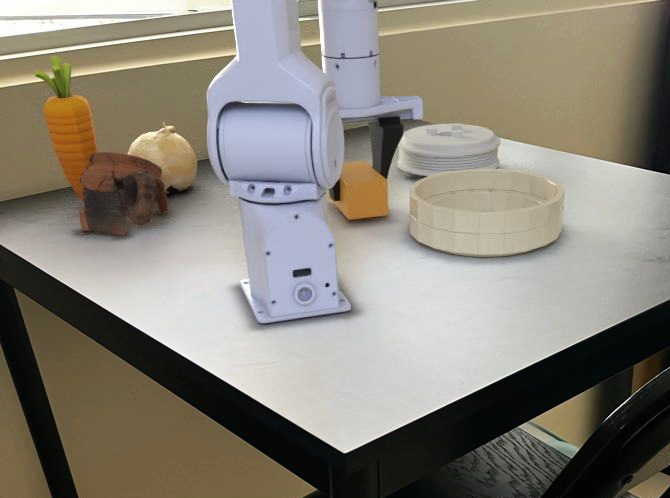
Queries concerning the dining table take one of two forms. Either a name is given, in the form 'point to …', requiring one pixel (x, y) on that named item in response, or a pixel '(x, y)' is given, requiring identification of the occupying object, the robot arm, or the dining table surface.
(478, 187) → the bowl
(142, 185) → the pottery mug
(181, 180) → the onion
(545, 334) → the dining table surface
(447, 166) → the lid
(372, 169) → the orange rectangular block
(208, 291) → the dining table surface
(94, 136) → the carrot
